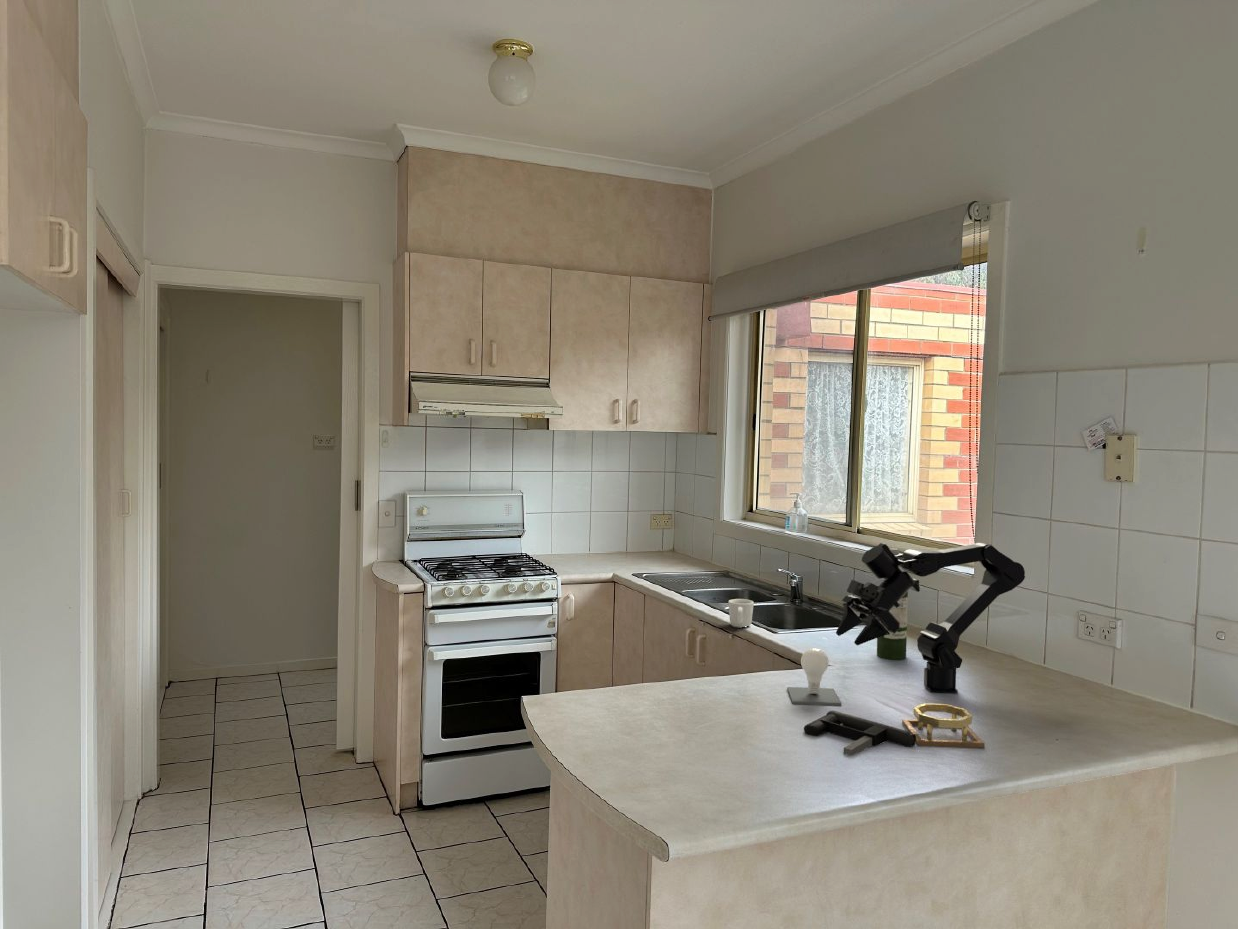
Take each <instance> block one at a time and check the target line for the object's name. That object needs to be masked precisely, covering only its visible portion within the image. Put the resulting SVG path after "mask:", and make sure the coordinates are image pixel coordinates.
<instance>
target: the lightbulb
mask: <svg viewBox="0 0 1238 929" xmlns="http://www.w3.org/2000/svg"><path fill="white" fill-rule="evenodd" d="M829 662H830V661H829V657H828V655H827V653H826V652H825V651H823V650H822V649H820V648H817V647H811V648H810V647H809V648H808V649H806V650H805V651H804V652H803V653H802V655H801V659H800V664H801V667H802V669H803V671H804V672H805V674H806V679H807V684H808V685H807V688H808V692H809V693H811V694H812V695H816V694H818V693H820V688H821V681H822V679H823V675H824V674H825V672H826V671H827V670H828V668H829V664H830V663H829Z"/></svg>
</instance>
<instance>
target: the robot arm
mask: <svg viewBox="0 0 1238 929" xmlns="http://www.w3.org/2000/svg"><path fill="white" fill-rule="evenodd" d="M861 561H862V563H863V564H864V566H866V568H868V570H869V571H870V572H871V573H872V574H873V575H874V576H875V578H877V579H883V581H881V582H880V584H879V585H876V584H874V583H872V582H869V581H867V582H865V583H862V582H860V581H858V580H857V581H856V580H855V579H851V580H850V582H849V584H848V587H847V588H846V592H847V593H849V594H848V595H845V596H844V597H843V598H842V600H841V602H842V607H843V615H842V618H841V620H840V622H839V625H838V626H837V629H836V630H835V631H836V632H835V634H836V635H837V636H838V637H840V636H842V635H843V634H846V633H847V632H849V631H850V630H852V629H854V628H855V627H857V626H859V625H860V624H862V623H863V622H864V621H863V620H865V619H867V624H866V625H865V626H864V627H863V628H862V630H861V631H860V633H859V634H858V635H857V637H856V639H855V640H854V641H853V643H854V644H855V646H860V645H862V644H865V643H868V642H869V641H873V640H877V638H879V637H882V636H885V635H890V633H893V634H895V633H896V632H897V631H898V630H899V628H900V623H899V622H898V621H897V619H896V618H895V617H894V616H893V615H892V614H891V613H890V612H889V611H890V610H891V609H892V608H893V607H896V608H898V606H899V604H898V601H899V600H900V599H901V598H902V597H903V596H904V595H905V593H906V592H907V591H908V592H909V590H911V591H914V592H918V593H919V592H920V591H921V588H920V580H919V579H915V578H913V577H912V576H911V575H910V574H912V575H914V576H917V577H924V578H925V577H927V576H931V575H933V574H936V573H938V571H940V570H941V569H944V568H948V567H953V566H959V565H965V564H970V563H971V564H972V563H976V562H979V563H980V565H981V567H983V568H984V569H985V570H984V572H983V577H982V580H981V583H980V584H978V586H977V587H976V588H975V589H974V590H973V591H972V592H971V593H970V594H969V595H968V596H967V597H966V598H965V599H964V600H963V601H962V603H960V605H958V606H957V607H956V608H955V609H954V611H953V612H951V614H950V615H948V617H947V618H946V619H945V620H944V621H943V622H941V623H936V622H933V621H931V622H929V623H928V624H927V626H926V627H925V628H924V629H923V630H921V631H920V632H919V634H920V635H919V636H918V638H917V640H916V642H917V650H918V652H920V654H921V656H922V660H924V661H926V667H924V669H923V685H924V686H925V687H926V689H927V690H928V691H930V692H932V693H955V694H956V693H958V692H959V691H958V689H957V688H956V686H957V669H961V666H962V663H963V658H962V657H961V656H960V655H959V654H958V653H957V652H956V650H957V649H958V645H959V641H960V637H961V636H962V634H964V632H965V631H966V630H968V628H969V627H970V626H971V625H972V624H973V623H974V622H975V621H976V620H977V619H978V617H980V615H982V614H983V612H984V611H985V610H986V609H988V607H990V605H991V604H993V602H995V600H996V599H997V598H998V597H999V596H1000V595H1003V594H1005V593H1008V592H1010V591H1013V590H1014V589H1015V588H1017V587H1018V586H1020V585H1021V584H1022V583H1023V581H1024V580H1025V578H1026V576H1025V575H1026V572H1025V568H1024V566H1023V565H1022V564H1021V563H1019V562H1018V561H1014V560H1013V559H1012V558H1010V557H1008V556H1007V555H1005V554H1003V553H1002V552H1000V551H999V550H998V549H997V548H996V547H995V546H993V545H992V544H989V543H986V542H985V543H984V542H976V543H972V544H967V545H962V546H956V547H949V548H944V549H937V550H930V549H928V550H927V549H916V548H915V549H910V548H909V549H906V550H904V551H903V552H902V554H899V555H894V554H893V553H892V552H891V551H890V547H889V546H888V545H887V544H886V543H883V542H879V544H878V545H875V546H873V547H871V548H870V549H867V550H866V551H865V552H864V553H863V555H862V557H861ZM898 567H899V568H898ZM901 569H902V570H901ZM851 594H853V595H851ZM854 595H855V596H854ZM889 632H890V633H889Z"/></svg>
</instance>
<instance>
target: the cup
mask: <svg viewBox="0 0 1238 929" xmlns="http://www.w3.org/2000/svg"><path fill="white" fill-rule="evenodd" d="M754 603H755V602H754V600H750V599H748V598H747V599H746V598H745V599H744V598H735V599H734V598H733V599H729V600H728V613H729V622H730V625H731V626H732V627H734V628H738V629H739V628H740V629H741V628H742V627H745V626H749V627H750V626H751V624H752V622H753V614H754V613H753V611H754ZM745 628H746V627H745ZM742 629H743V628H742Z"/></svg>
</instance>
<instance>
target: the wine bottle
mask: <svg viewBox="0 0 1238 929" xmlns="http://www.w3.org/2000/svg"><path fill="white" fill-rule="evenodd" d="M889 549H890V551H891V552H892V553H893V554H894V555H900V550H899V548H890V547H889ZM898 568H899V569H900V567H898ZM908 595H909V590H908V591H907V592H906V593H905V595H904V596H903V597H902V598H901V599H900V600H899V601H898V604H899V606H898V608H896V607H893V608H892V609H891V610H890V611H889V612H890V613H891V614H892V615H893V616H894V617H895V618H896V619H897V621H898V622H899V623H900V628H899V630H898V631H897V632H896V633H895V634H893V633H890V632H889V633H890V635H885V636H882V637H879V638H876V655H877V656H878V658H881V657H882V659H886V660H893V659H895V660H899V661H900V660H904V659H906V658H907V643H908V641H907V640H908V638H907V637H908V631H907V630H908V603H909V602H908V600H909V599H908V598H909V597H908ZM895 660H894V661H895Z"/></svg>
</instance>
